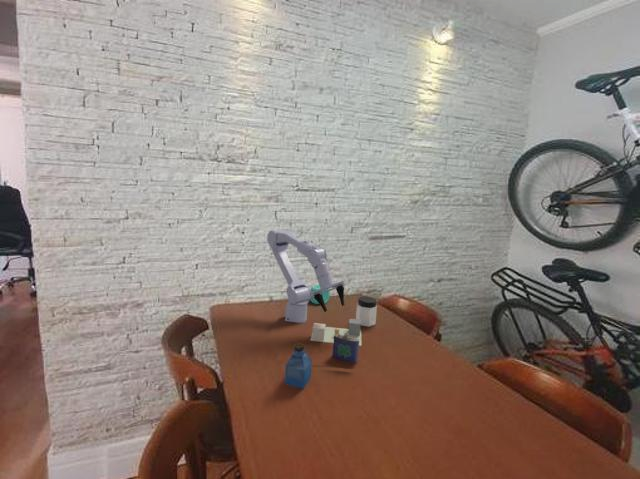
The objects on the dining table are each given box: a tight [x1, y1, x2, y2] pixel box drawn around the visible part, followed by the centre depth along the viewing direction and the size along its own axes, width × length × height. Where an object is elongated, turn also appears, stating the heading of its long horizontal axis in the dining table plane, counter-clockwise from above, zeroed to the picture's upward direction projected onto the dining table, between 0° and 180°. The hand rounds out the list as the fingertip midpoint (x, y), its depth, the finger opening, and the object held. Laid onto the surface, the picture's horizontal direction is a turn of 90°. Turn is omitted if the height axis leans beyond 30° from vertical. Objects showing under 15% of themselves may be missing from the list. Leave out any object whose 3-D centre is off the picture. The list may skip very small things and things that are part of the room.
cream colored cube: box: [311, 322, 327, 342], centre depth 132 cm, size 5×5×5 cm
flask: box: [332, 333, 359, 363], centre depth 116 cm, size 9×3×11 cm, turn 68°
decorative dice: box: [309, 284, 331, 305], centre depth 175 cm, size 8×8×8 cm
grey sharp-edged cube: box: [348, 318, 362, 336], centre depth 138 cm, size 5×5×5 cm
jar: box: [355, 295, 378, 328], centre depth 149 cm, size 9×8×12 cm
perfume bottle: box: [284, 342, 312, 390], centre depth 103 cm, size 6×6×12 cm
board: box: [309, 326, 362, 347], centre depth 135 cm, size 20×14×4 cm
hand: (334, 308), depth 133 cm, fingers open, 7 cm apart
